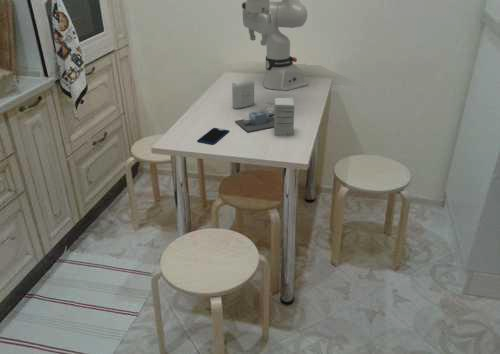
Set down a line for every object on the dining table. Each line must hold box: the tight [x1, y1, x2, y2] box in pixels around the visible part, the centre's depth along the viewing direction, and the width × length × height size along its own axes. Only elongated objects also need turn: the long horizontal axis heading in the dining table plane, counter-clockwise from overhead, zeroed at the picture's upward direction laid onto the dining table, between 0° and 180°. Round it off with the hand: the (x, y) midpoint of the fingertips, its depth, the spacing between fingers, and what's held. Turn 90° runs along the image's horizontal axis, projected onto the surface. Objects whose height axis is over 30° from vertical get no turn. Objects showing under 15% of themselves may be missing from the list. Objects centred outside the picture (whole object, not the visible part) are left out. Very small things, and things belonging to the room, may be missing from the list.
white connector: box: [266, 102, 275, 115], centre depth 202 cm, size 10×3×3 cm, turn 177°
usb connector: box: [243, 110, 274, 125], centre depth 191 cm, size 14×4×4 cm, turn 116°
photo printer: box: [231, 77, 255, 110], centre depth 207 cm, size 10×4×12 cm, turn 123°
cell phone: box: [196, 127, 230, 146], centre depth 182 cm, size 7×14×1 cm, turn 156°
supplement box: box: [273, 97, 295, 136], centre depth 182 cm, size 7×7×13 cm
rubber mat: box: [234, 116, 274, 134], centre depth 192 cm, size 16×12×1 cm
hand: (258, 42), depth 190 cm, fingers open, 8 cm apart
